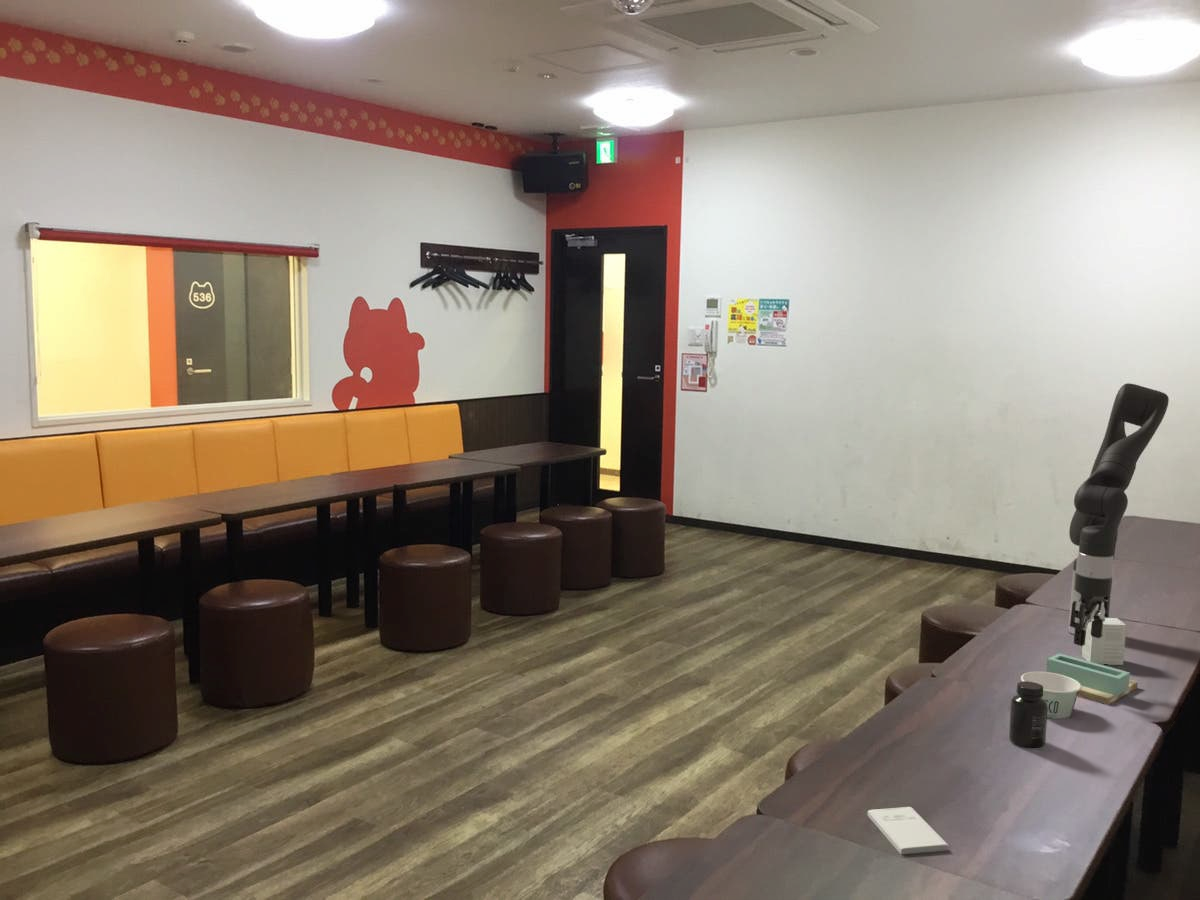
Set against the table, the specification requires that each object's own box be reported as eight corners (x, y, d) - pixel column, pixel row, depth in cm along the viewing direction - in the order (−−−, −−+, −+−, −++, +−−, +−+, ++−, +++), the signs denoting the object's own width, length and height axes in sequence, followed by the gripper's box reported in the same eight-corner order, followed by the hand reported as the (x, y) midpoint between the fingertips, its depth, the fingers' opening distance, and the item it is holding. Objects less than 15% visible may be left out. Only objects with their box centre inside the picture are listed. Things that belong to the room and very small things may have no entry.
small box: (1114, 658, 248) (1117, 617, 246) (1123, 665, 242) (1127, 624, 241) (1080, 656, 249) (1084, 616, 247) (1089, 664, 243) (1093, 623, 242)
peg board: (1072, 669, 239) (1073, 651, 239) (1137, 687, 228) (1139, 669, 227) (1040, 684, 229) (1042, 666, 228) (1107, 704, 218) (1109, 685, 217)
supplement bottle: (1043, 738, 200) (1048, 681, 198) (1046, 752, 194) (1051, 693, 192) (1007, 733, 202) (1011, 677, 201) (1009, 746, 196) (1013, 689, 194)
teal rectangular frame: (1128, 689, 223) (1130, 672, 222) (1117, 695, 219) (1118, 678, 218) (1058, 669, 235) (1059, 653, 234) (1046, 675, 231) (1047, 658, 230)
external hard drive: (900, 857, 156) (866, 818, 169) (948, 853, 158) (911, 814, 170) (901, 848, 156) (867, 809, 168) (948, 844, 158) (912, 805, 170)
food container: (1078, 705, 218) (1081, 676, 217) (1079, 725, 207) (1082, 695, 206) (1019, 695, 222) (1021, 667, 222) (1017, 714, 212) (1019, 685, 211)
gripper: (1096, 581, 216) (1090, 652, 218) (1124, 570, 225) (1118, 638, 227) (1062, 574, 222) (1056, 643, 224) (1091, 563, 231) (1085, 630, 233)
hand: (1087, 640), depth 226 cm, fingers open, 8 cm apart
